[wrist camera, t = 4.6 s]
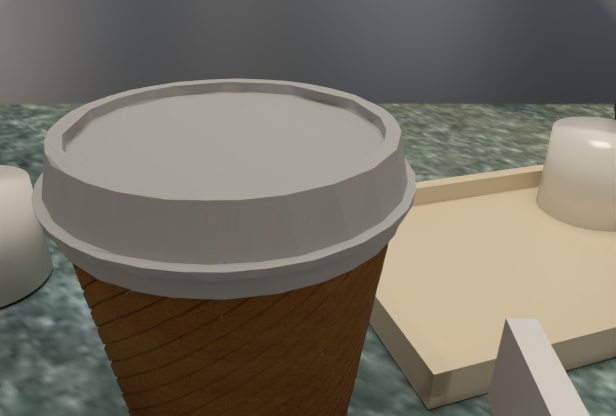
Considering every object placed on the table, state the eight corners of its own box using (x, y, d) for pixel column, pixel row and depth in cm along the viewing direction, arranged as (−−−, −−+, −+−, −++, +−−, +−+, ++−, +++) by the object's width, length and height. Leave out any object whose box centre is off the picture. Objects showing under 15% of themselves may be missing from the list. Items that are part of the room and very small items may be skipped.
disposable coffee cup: (436, 526, 17) (509, 170, 11) (114, 655, 14) (-2, 254, 8) (319, 332, 25) (329, 65, 19) (96, 388, 22) (30, 88, 16)
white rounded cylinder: (516, 193, 37) (531, 121, 34) (588, 182, 38) (607, 113, 36) (583, 238, 32) (607, 157, 29) (662, 223, 33) (690, 145, 31)
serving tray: (302, 224, 34) (302, 198, 33) (588, 180, 40) (595, 157, 39) (428, 409, 21) (433, 374, 20) (814, 300, 28) (830, 271, 27)
